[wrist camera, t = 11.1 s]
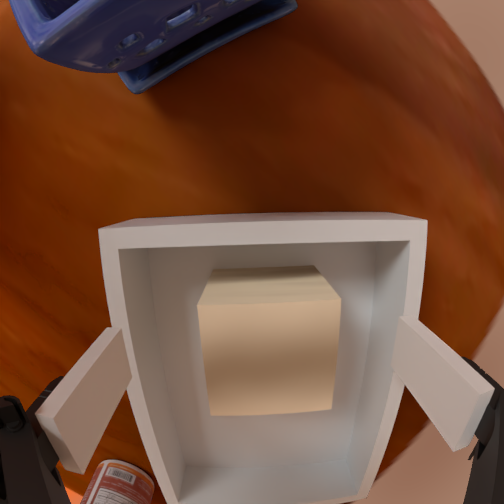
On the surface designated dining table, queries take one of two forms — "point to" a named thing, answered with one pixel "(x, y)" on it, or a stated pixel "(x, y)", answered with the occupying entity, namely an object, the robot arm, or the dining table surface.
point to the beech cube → (269, 340)
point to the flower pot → (138, 32)
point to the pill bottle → (119, 485)
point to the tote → (191, 358)
